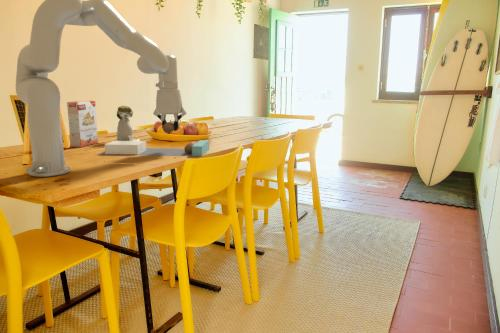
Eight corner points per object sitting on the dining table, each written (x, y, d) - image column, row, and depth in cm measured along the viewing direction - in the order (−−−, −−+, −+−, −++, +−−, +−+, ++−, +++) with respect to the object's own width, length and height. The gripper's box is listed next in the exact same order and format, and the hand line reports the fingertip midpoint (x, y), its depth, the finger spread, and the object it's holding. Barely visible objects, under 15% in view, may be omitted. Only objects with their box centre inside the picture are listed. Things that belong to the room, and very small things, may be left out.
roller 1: (173, 132, 159) (171, 122, 158) (163, 133, 159) (161, 124, 159) (178, 129, 168) (176, 120, 167) (170, 130, 168) (168, 121, 167)
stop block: (202, 156, 156) (201, 146, 155) (192, 156, 157) (192, 146, 156) (209, 149, 172) (209, 140, 171) (200, 149, 172) (200, 140, 171)
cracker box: (81, 147, 178) (77, 101, 174) (70, 147, 179) (65, 101, 175) (99, 142, 192) (95, 100, 187) (88, 142, 193) (84, 100, 188)
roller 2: (192, 155, 160) (194, 146, 159) (183, 153, 160) (185, 143, 159) (197, 151, 169) (199, 142, 168) (188, 149, 169) (190, 140, 168)
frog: (108, 144, 186) (105, 106, 182) (121, 140, 198) (119, 104, 194) (131, 145, 184) (128, 106, 180) (143, 141, 196) (141, 105, 192)
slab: (138, 154, 159) (137, 144, 158) (105, 153, 160) (104, 144, 160) (146, 150, 169) (145, 141, 168) (115, 149, 170) (114, 140, 169)
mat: (202, 157, 156) (202, 156, 156) (97, 155, 160) (97, 154, 160) (209, 150, 172) (209, 149, 172) (113, 148, 175) (113, 147, 175)
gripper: (145, 86, 156) (148, 131, 160) (186, 86, 155) (188, 132, 159) (151, 86, 163) (154, 129, 168) (190, 86, 162) (192, 129, 166)
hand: (170, 130), depth 163 cm, fingers closed on roller 1, 4 cm apart
